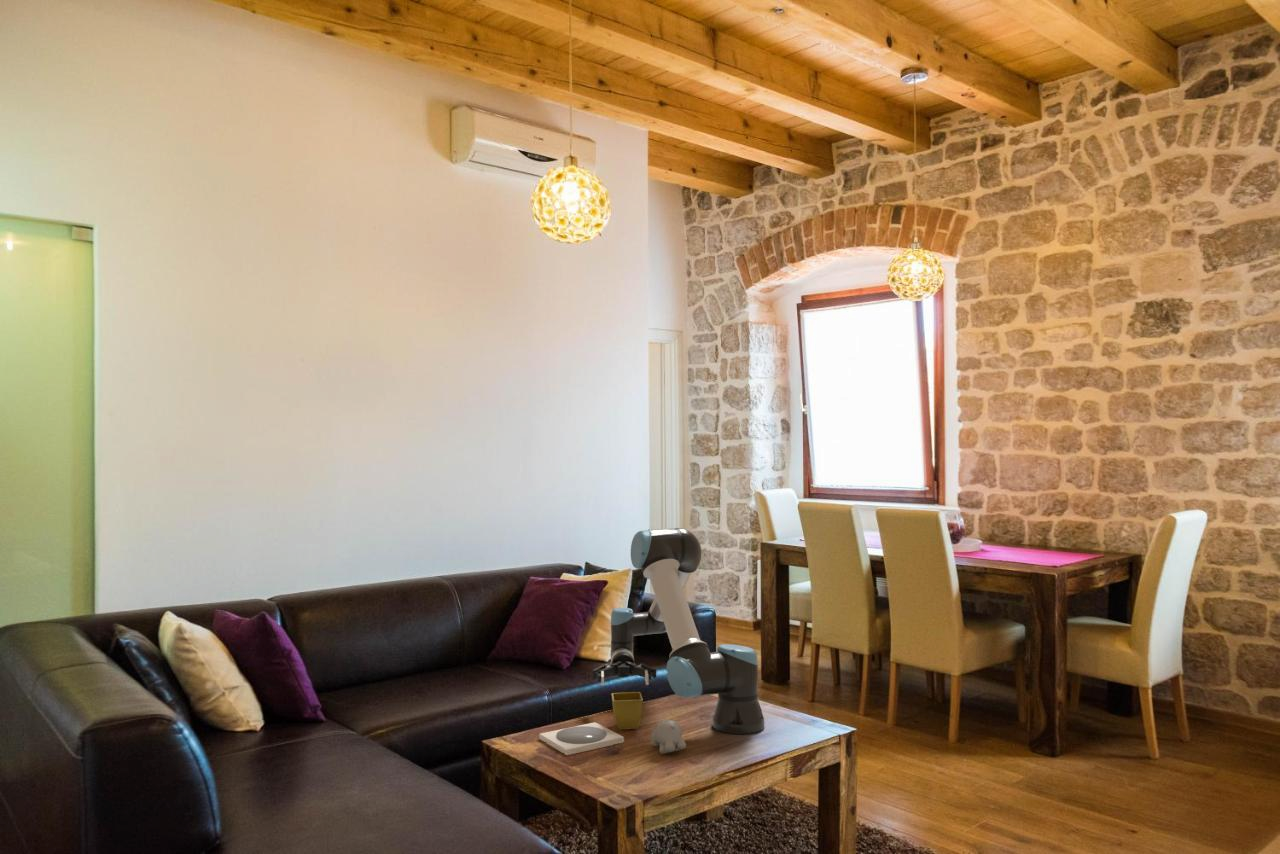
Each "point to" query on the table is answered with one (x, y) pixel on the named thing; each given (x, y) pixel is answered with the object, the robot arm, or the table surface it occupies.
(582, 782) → the table surface
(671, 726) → the hippopotamus figurine
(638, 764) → the table surface
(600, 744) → the tile stand
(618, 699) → the flower pot
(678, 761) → the table surface
